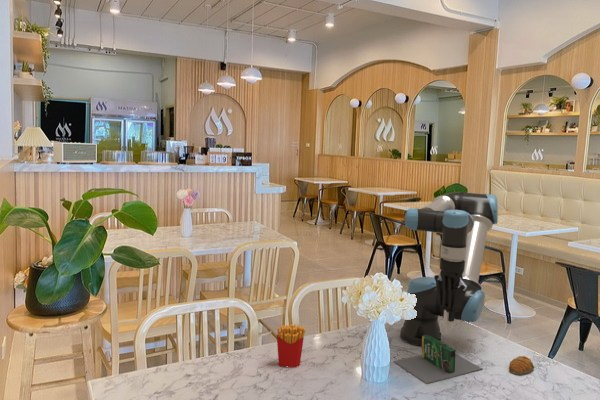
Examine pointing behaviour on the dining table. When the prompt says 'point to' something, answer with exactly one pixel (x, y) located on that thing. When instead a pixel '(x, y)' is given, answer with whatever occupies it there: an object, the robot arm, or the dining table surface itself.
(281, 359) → the french fries
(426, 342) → the coffee box
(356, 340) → the dining table surface
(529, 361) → the pastry
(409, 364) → the slate mat
